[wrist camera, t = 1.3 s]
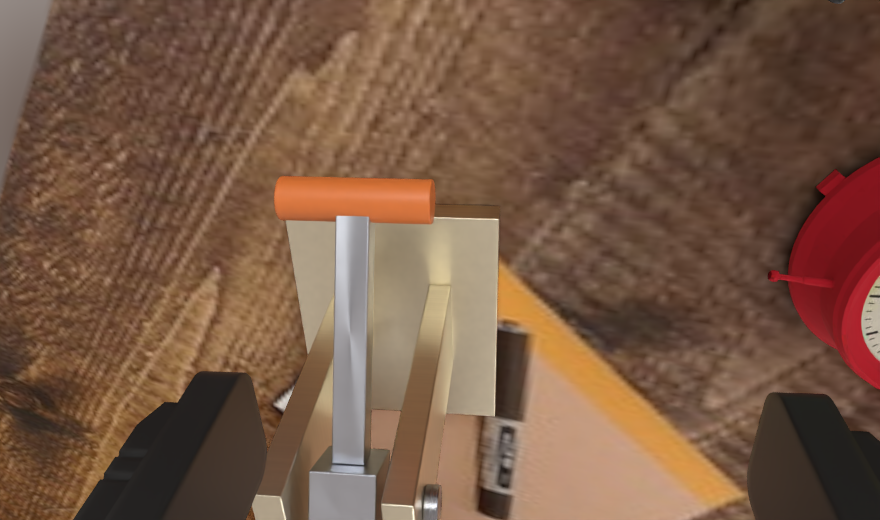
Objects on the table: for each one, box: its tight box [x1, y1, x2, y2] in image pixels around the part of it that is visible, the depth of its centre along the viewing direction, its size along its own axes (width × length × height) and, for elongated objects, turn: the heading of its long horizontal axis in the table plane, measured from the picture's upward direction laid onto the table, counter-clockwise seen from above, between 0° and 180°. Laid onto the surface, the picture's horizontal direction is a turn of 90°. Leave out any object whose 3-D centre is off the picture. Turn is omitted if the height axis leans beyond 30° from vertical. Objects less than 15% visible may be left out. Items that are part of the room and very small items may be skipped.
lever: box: [274, 176, 435, 520], centre depth 23 cm, size 12×5×2 cm
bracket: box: [252, 204, 500, 520], centre depth 27 cm, size 11×9×13 cm
